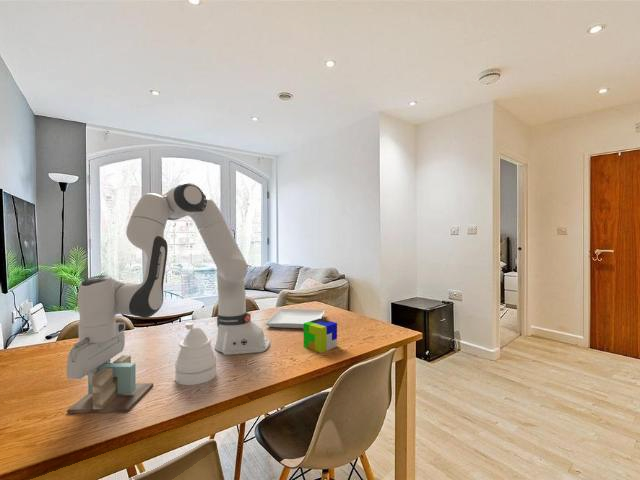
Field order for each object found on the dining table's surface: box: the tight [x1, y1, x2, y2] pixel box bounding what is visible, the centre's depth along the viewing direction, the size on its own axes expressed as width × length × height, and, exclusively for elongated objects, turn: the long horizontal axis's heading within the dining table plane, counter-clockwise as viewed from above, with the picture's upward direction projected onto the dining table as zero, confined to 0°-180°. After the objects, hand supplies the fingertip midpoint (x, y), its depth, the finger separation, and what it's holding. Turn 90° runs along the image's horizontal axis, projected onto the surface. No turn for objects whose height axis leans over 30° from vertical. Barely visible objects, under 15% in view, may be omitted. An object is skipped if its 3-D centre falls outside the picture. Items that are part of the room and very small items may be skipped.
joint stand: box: [66, 354, 154, 414], centre depth 93 cm, size 16×14×10 cm
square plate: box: [264, 308, 326, 330], centre depth 169 cm, size 27×27×4 cm
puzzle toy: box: [303, 318, 338, 354], centre depth 134 cm, size 10×10×10 cm
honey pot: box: [174, 322, 217, 386], centre depth 107 cm, size 13×13×18 cm
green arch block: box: [87, 362, 137, 394], centre depth 93 cm, size 12×2×8 cm, turn 92°
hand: (98, 379), depth 92 cm, fingers closed on green arch block, 2 cm apart
